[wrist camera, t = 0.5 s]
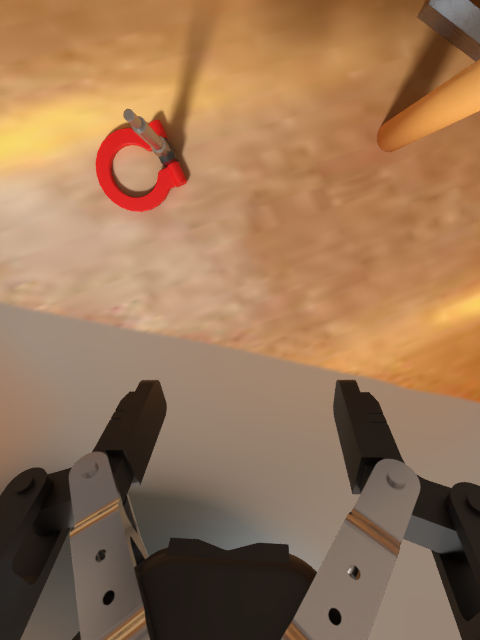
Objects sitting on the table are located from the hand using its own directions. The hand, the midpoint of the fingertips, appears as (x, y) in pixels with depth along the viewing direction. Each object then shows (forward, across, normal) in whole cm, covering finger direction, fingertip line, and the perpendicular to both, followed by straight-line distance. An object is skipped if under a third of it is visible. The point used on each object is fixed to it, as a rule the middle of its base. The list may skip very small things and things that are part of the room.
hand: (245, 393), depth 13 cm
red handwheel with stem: (+27, +13, -8) cm, 31 cm away
